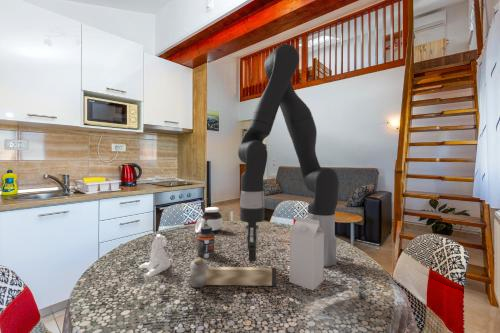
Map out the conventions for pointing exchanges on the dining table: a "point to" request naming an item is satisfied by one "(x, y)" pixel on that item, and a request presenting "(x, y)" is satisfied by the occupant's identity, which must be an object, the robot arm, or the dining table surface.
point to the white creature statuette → (157, 257)
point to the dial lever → (230, 275)
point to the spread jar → (210, 220)
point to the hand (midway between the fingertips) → (252, 260)
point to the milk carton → (306, 253)
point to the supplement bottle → (206, 242)
